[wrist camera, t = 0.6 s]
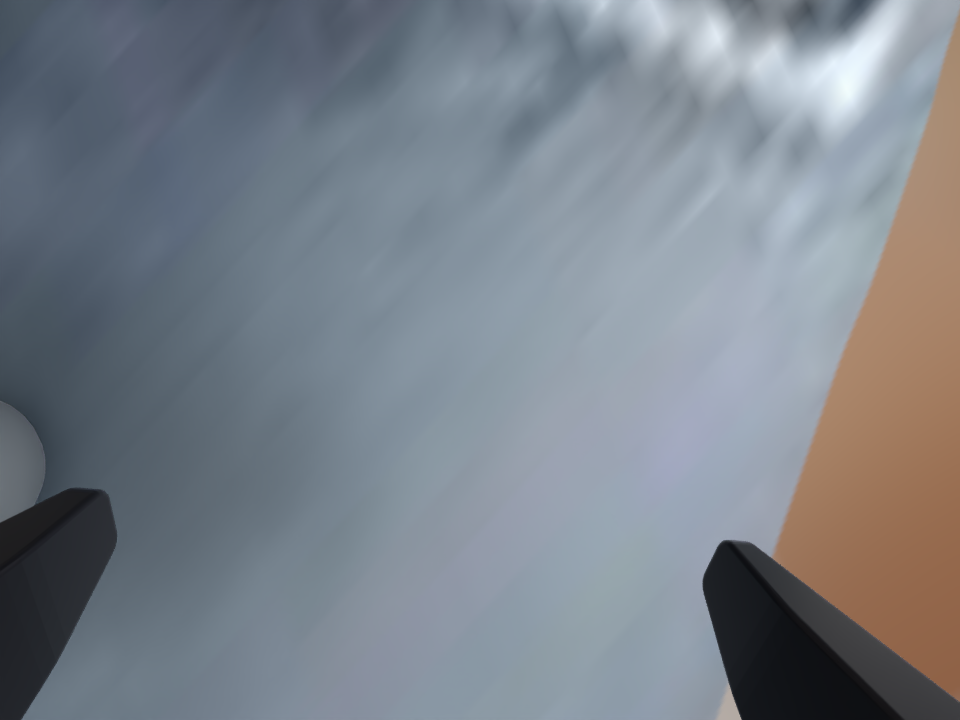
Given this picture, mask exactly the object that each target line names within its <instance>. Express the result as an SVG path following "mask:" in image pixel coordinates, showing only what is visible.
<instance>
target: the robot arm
mask: <svg viewBox="0 0 960 720" xmlns="http://www.w3.org/2000/svg"><path fill="white" fill-rule="evenodd" d="M116 542H117V530H116V525H115V521H114V516H113V512H112V507H111V503H110V499H109V496H108V494H107V493H106V492H105V491H103V490H100V489H88V488H70V489H67V490H65V491H63V492H61V493H59V494H57V495H55V496H52V497H50V498H48V499H46V500H44V501H42V502H40V503H38V504H36V505H34V506H32V507H30V508H28V509H26V510H24V511H22V512H20V513H18V514H16V515H14V516H12V517H10V518H8V519H6V520H4V521H2V522H0V720H21V719H22V718H23V716H24V714H25V713H26V711H27V710H28V708H29V707H30V705H31V703H32V702H33V700H34V699H35V697H36V695H37V694H38V692H39V691H40V689H41V688H42V686H43V684H44V683H45V681H46V679H47V678H48V676H49V675H50V673H51V671H52V670H53V668H54V666H55V665H56V663H57V661H58V659H59V657H60V656H61V654H62V652H63V650H64V648H65V646H66V644H67V643H68V641H69V639H70V637H71V635H72V633H73V631H74V629H75V627H76V625H77V623H78V621H79V619H80V617H81V615H82V613H83V611H84V609H85V607H86V605H87V603H88V601H89V599H90V597H91V595H92V593H93V591H94V589H95V587H96V585H97V583H98V581H99V579H100V577H101V575H102V573H103V571H104V569H105V567H106V565H107V563H108V561H109V559H110V557H111V555H112V553H113V551H114V549H115V546H116ZM703 592H704V596H705V600H706V603H707V607H708V610H709V614H710V618H711V621H712V625H713V628H714V632H715V636H716V639H717V643H718V646H719V650H720V654H721V657H722V661H723V664H724V668H725V671H726V675H727V678H728V682H729V685H730V688H731V691H732V694H733V697H734V700H735V703H736V706H737V708H738V711H739V714H740V717H741V719H742V720H960V702H959V701H958V700H956V699H955V698H954V697H952V696H951V695H950V694H949V693H947V692H946V691H945V690H943V689H942V688H941V687H939V686H938V685H937V684H936V683H934V682H933V681H932V680H930V679H929V678H928V677H926V676H925V675H924V674H922V673H921V672H920V671H918V670H917V669H916V668H914V667H913V666H912V665H911V664H909V663H908V662H907V661H905V660H904V659H903V658H901V657H900V656H899V655H898V654H896V653H895V652H894V651H892V650H891V649H890V648H888V647H887V646H886V645H884V644H883V643H882V642H881V641H879V640H878V639H877V638H875V637H874V636H873V635H871V634H870V633H869V632H867V631H866V630H865V629H864V628H862V627H861V626H860V625H858V624H857V623H856V622H854V621H853V620H852V619H850V618H849V617H848V616H847V615H845V614H844V613H843V612H841V611H840V610H838V609H837V608H836V607H835V606H833V605H832V604H830V603H829V602H828V601H827V600H826V599H824V598H823V597H822V596H820V595H819V594H818V593H816V592H815V591H814V590H813V589H811V588H810V587H809V586H807V585H806V584H805V583H803V582H802V581H801V580H799V579H798V578H797V577H795V576H794V575H793V574H792V573H790V572H789V571H788V570H786V569H785V568H784V567H782V566H781V565H779V564H778V563H777V562H776V561H775V560H773V559H772V558H771V557H769V556H768V555H767V554H765V553H764V552H763V551H761V550H760V549H759V548H758V547H756V546H755V545H753V544H752V543H750V542H746V541H736V540H724V541H722V542H721V543H720V544H719V545H718V547H717V549H716V551H715V553H714V555H713V557H712V559H711V561H710V563H709V565H708V567H707V569H706V571H705V574H704V577H703Z"/></svg>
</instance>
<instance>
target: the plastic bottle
mask: <svg viewBox="0 0 960 720" xmlns="http://www.w3.org/2000/svg"><path fill="white" fill-rule="evenodd" d="M45 472H46V458H45V454H44V449H43V445H42V443H41V441H40V439H39V437H38V435H37V433H36V431H35V429H34V427H33V426H32V425H31V423H30V422H29V421H28V420H27V419H26V417H25V416H24V415H23V414H22V413H20V412H19V411H18V410H16V409H15V408H14V407H12V406H11V405H9V404H7V403H4V402H2V401H0V522H2V521H4V520H6V519H8V518H10V517H12V516H14V515H16V514H18V513H20V512H22V511H24V510H26V509H28V508H30V507H32V506H34V505H35V503H36V501H37V499H38V496H39V494H40V491H41V489H42V486H43V482H44V477H45Z"/></svg>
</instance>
